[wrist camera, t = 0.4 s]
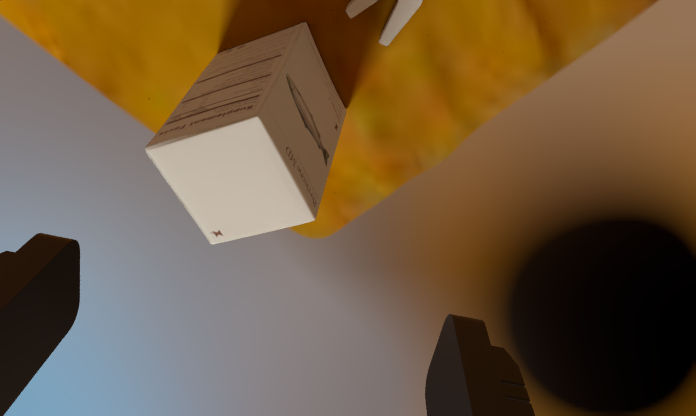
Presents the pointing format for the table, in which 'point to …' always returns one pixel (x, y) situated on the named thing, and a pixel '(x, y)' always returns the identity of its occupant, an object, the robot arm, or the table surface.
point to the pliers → (398, 18)
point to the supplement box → (253, 137)
